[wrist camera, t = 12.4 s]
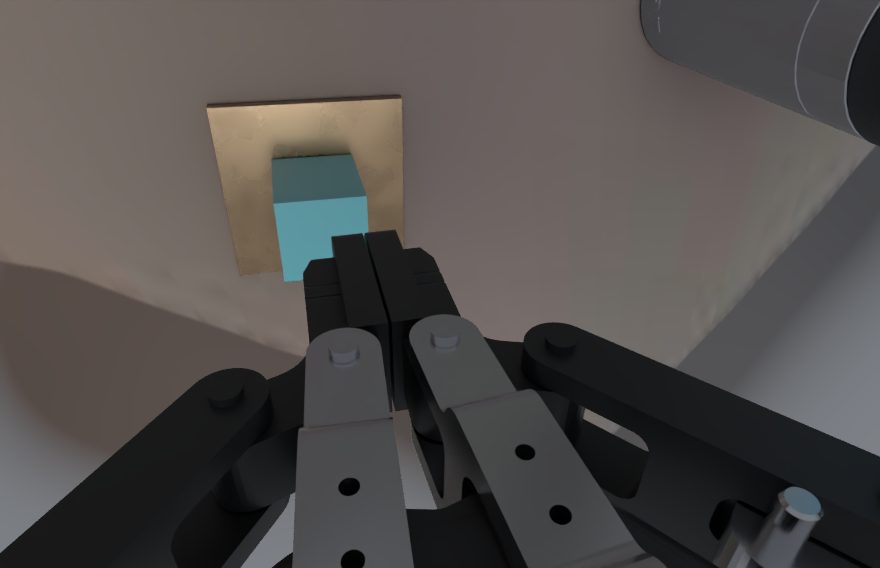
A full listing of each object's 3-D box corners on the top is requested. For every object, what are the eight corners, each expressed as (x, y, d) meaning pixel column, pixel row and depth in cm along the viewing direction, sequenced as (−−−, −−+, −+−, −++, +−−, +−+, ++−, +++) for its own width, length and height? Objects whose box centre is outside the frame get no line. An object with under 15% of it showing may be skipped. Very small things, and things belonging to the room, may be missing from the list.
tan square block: (399, 95, 38) (424, 130, 33) (402, 251, 45) (422, 303, 39) (207, 104, 36) (197, 144, 30) (240, 269, 42) (237, 327, 37)
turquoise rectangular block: (352, 154, 39) (366, 196, 33) (356, 223, 41) (370, 272, 36) (271, 159, 37) (273, 203, 32) (281, 230, 40) (284, 282, 35)
